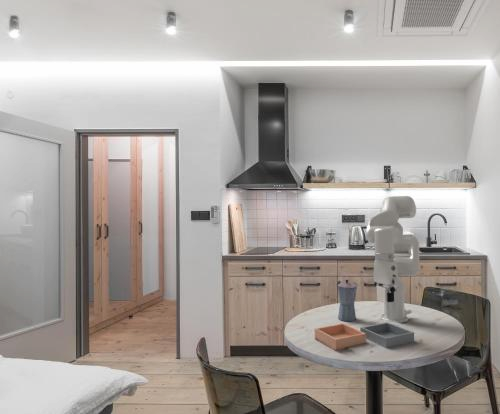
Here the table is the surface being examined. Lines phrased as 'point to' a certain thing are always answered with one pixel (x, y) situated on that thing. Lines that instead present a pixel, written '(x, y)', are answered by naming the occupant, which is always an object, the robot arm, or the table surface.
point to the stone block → (383, 293)
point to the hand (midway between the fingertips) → (385, 299)
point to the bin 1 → (339, 336)
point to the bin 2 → (387, 334)
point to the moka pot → (347, 301)
